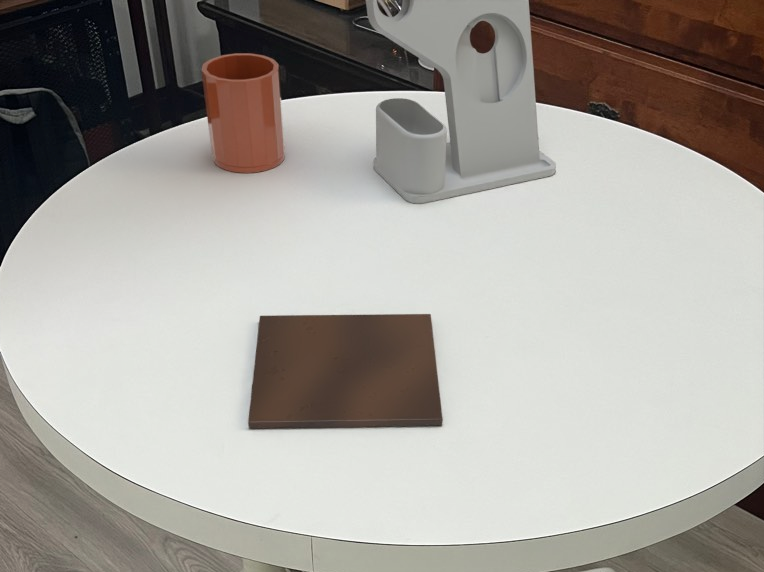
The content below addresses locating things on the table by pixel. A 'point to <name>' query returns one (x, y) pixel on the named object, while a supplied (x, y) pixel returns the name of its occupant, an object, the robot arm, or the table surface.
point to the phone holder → (461, 102)
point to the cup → (244, 112)
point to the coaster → (345, 372)
